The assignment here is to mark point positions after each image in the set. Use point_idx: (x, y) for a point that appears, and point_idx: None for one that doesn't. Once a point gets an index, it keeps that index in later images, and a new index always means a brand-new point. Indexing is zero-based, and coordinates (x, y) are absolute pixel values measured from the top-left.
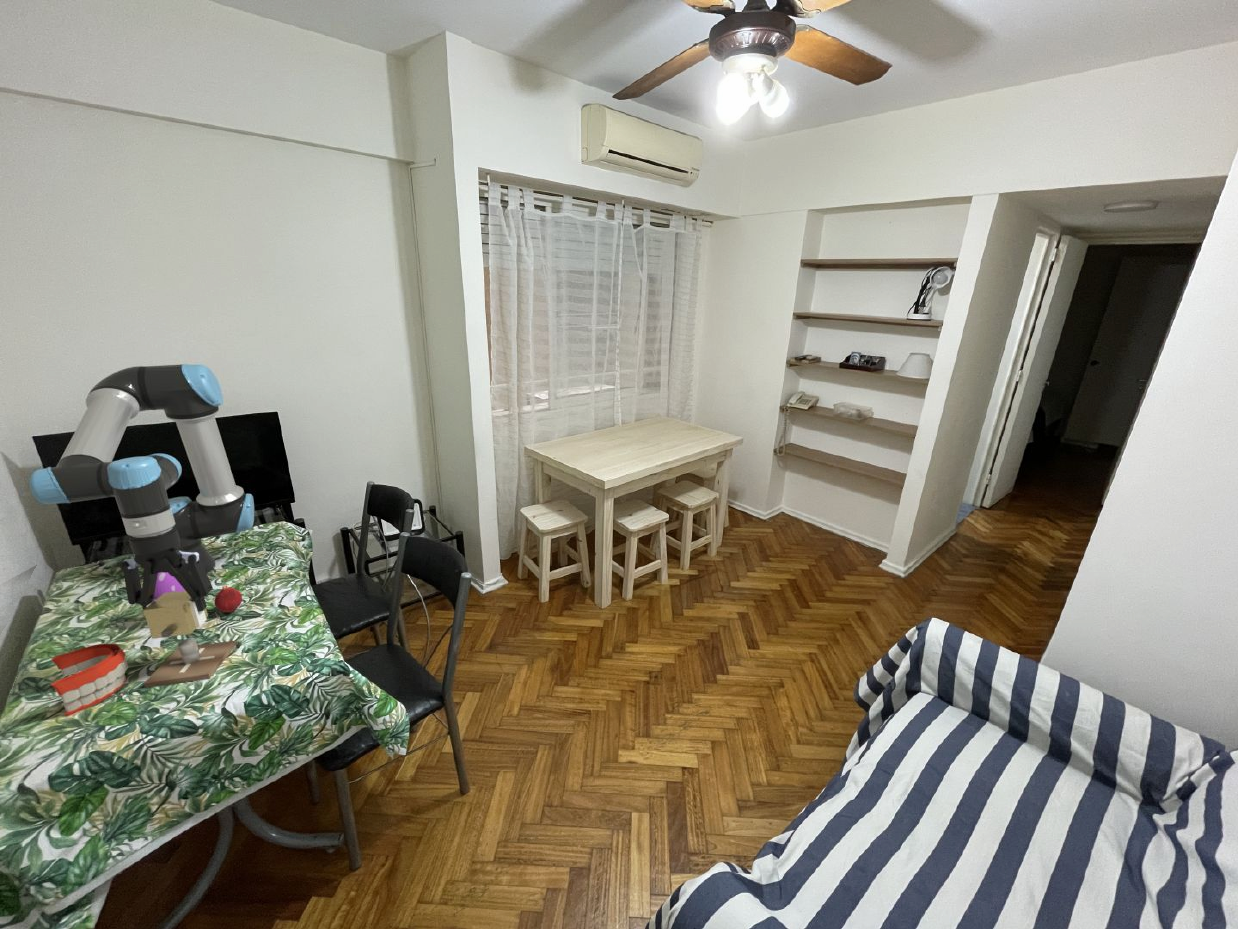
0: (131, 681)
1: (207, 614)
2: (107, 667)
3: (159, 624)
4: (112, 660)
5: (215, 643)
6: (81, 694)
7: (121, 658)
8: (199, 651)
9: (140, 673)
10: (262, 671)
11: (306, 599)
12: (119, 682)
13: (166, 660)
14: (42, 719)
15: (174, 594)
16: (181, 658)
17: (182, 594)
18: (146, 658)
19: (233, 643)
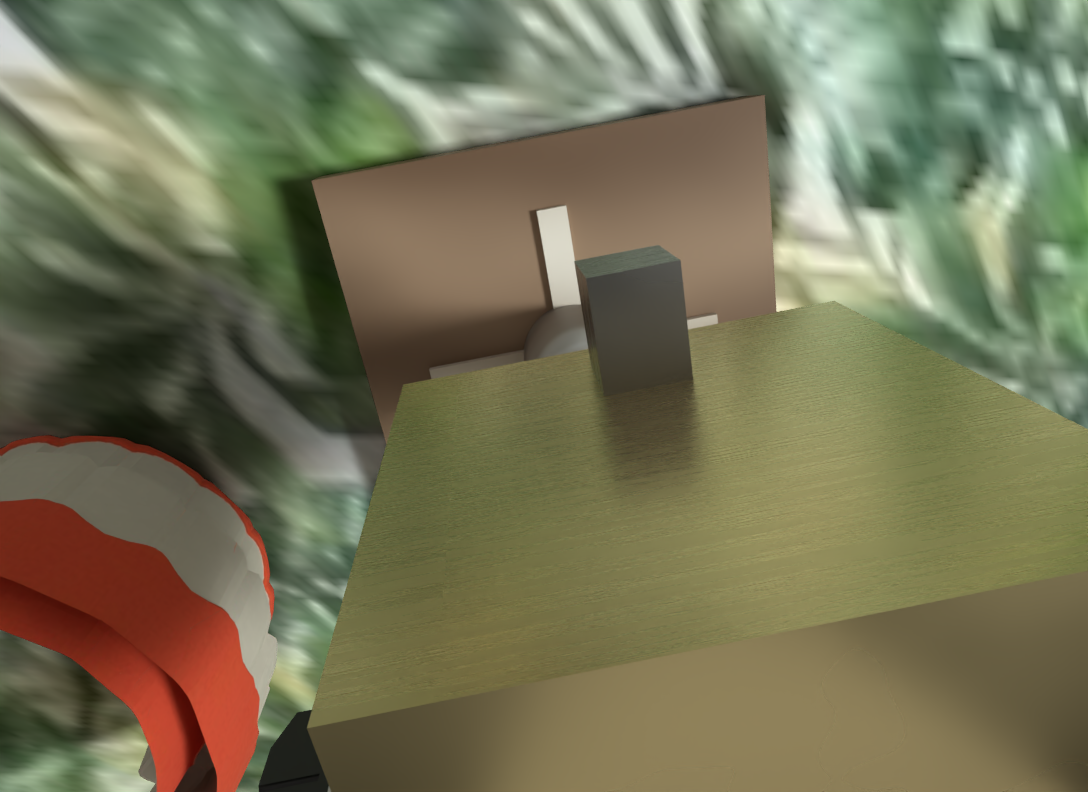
0: (266, 485)
1: (848, 312)
2: (239, 758)
3: None
4: (218, 733)
5: (612, 132)
6: (210, 776)
7: (217, 645)
8: (559, 253)
9: (247, 412)
10: (1065, 417)
11: None
12: (253, 568)
13: (364, 342)
14: (66, 741)
15: (691, 783)
16: (468, 324)
17: (923, 789)
18: (109, 242)
19: (765, 135)
